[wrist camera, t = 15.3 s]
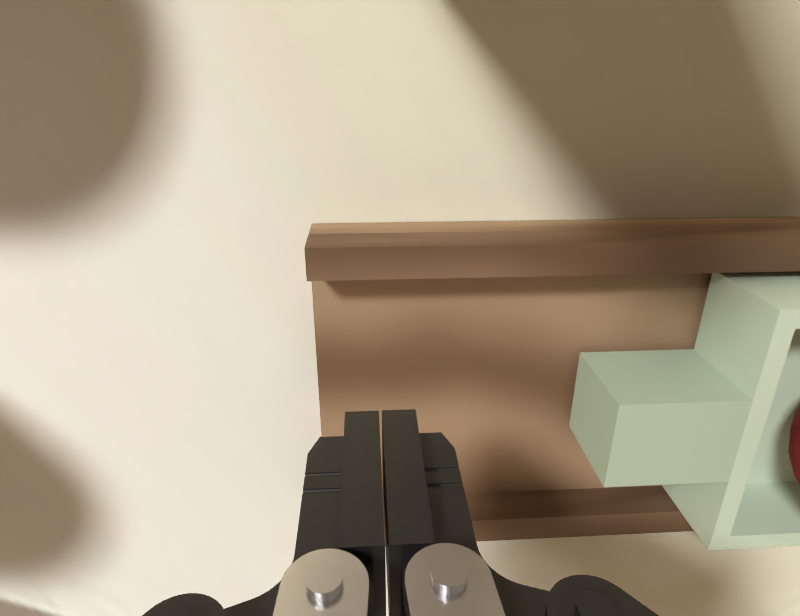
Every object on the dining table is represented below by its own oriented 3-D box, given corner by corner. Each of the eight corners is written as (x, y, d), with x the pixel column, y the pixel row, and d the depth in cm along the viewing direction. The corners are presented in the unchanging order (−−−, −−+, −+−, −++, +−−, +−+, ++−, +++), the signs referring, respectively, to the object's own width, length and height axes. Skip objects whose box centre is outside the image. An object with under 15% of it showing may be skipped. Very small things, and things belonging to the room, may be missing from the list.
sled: (592, 271, 18) (636, 313, 15) (968, 264, 19) (1080, 302, 16) (559, 489, 22) (590, 556, 19) (877, 475, 22) (955, 538, 19)
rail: (312, 223, 18) (293, 287, 13) (976, 214, 20) (1192, 268, 15) (328, 497, 23) (319, 623, 18) (866, 474, 24) (1002, 585, 19)
